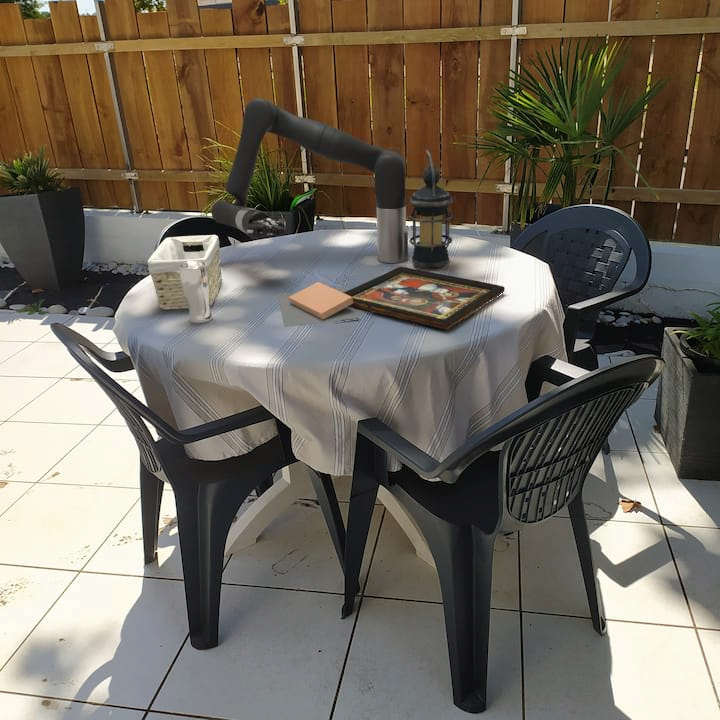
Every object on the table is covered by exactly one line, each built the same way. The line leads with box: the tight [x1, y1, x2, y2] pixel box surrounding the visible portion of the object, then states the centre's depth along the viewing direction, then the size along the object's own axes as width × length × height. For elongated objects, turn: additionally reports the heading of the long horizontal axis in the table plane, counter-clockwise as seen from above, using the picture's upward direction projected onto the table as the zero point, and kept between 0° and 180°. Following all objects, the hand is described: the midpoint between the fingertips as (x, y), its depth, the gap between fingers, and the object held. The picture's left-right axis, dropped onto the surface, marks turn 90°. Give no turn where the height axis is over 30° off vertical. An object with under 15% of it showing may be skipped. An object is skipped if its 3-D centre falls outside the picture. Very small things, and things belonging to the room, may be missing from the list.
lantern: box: [408, 149, 454, 269], centre depth 197 cm, size 14×13×35 cm
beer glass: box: [179, 261, 214, 325], centre depth 169 cm, size 7×7×15 cm
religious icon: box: [344, 266, 505, 330], centre depth 178 cm, size 38×35×3 cm
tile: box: [288, 281, 353, 320], centre depth 174 cm, size 2×10×16 cm
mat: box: [276, 287, 360, 327], centre depth 176 cm, size 19×24×1 cm
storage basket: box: [147, 234, 224, 311], centre depth 186 cm, size 24×16×15 cm
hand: (281, 232), depth 182 cm, fingers closed
